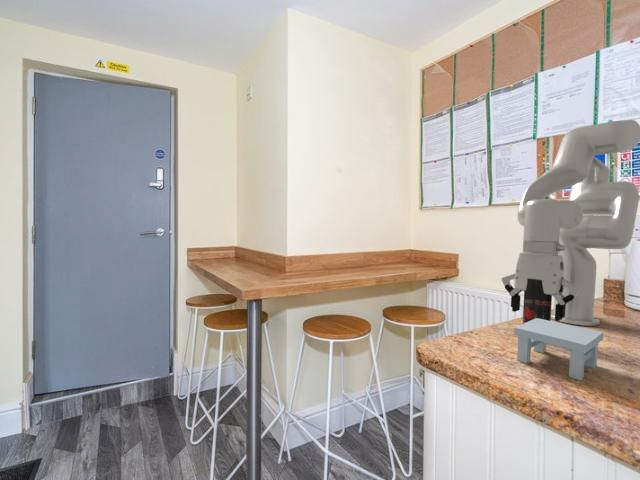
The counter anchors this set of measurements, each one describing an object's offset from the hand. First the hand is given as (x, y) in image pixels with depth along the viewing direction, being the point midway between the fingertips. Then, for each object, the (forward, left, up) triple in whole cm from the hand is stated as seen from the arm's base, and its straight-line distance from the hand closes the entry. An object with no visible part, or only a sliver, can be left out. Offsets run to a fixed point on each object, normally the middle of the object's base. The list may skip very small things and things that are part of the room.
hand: (536, 315), depth 84 cm
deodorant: (0, 0, -6) cm, 6 cm away
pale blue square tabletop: (+15, +9, -6) cm, 18 cm away
